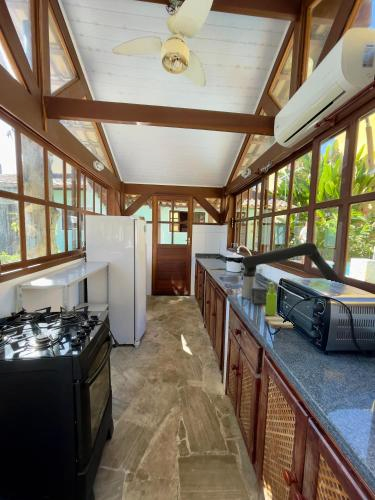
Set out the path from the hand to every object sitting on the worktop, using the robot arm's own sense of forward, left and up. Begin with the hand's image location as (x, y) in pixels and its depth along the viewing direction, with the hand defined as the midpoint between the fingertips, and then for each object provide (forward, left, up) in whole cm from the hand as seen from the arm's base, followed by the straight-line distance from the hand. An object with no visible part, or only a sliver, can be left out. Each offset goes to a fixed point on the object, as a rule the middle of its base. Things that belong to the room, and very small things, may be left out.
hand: (289, 290), depth 139 cm
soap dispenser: (-8, -8, -15) cm, 19 cm away
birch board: (+2, -20, -15) cm, 25 cm away
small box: (-23, +7, -15) cm, 29 cm away
